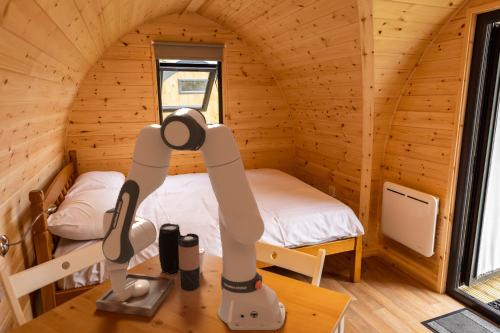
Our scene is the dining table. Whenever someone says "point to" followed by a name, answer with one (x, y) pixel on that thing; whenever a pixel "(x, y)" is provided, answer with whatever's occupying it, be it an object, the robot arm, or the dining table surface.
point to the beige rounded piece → (134, 289)
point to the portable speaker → (169, 248)
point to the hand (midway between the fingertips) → (120, 289)
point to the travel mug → (189, 262)
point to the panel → (139, 304)
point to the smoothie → (201, 257)
